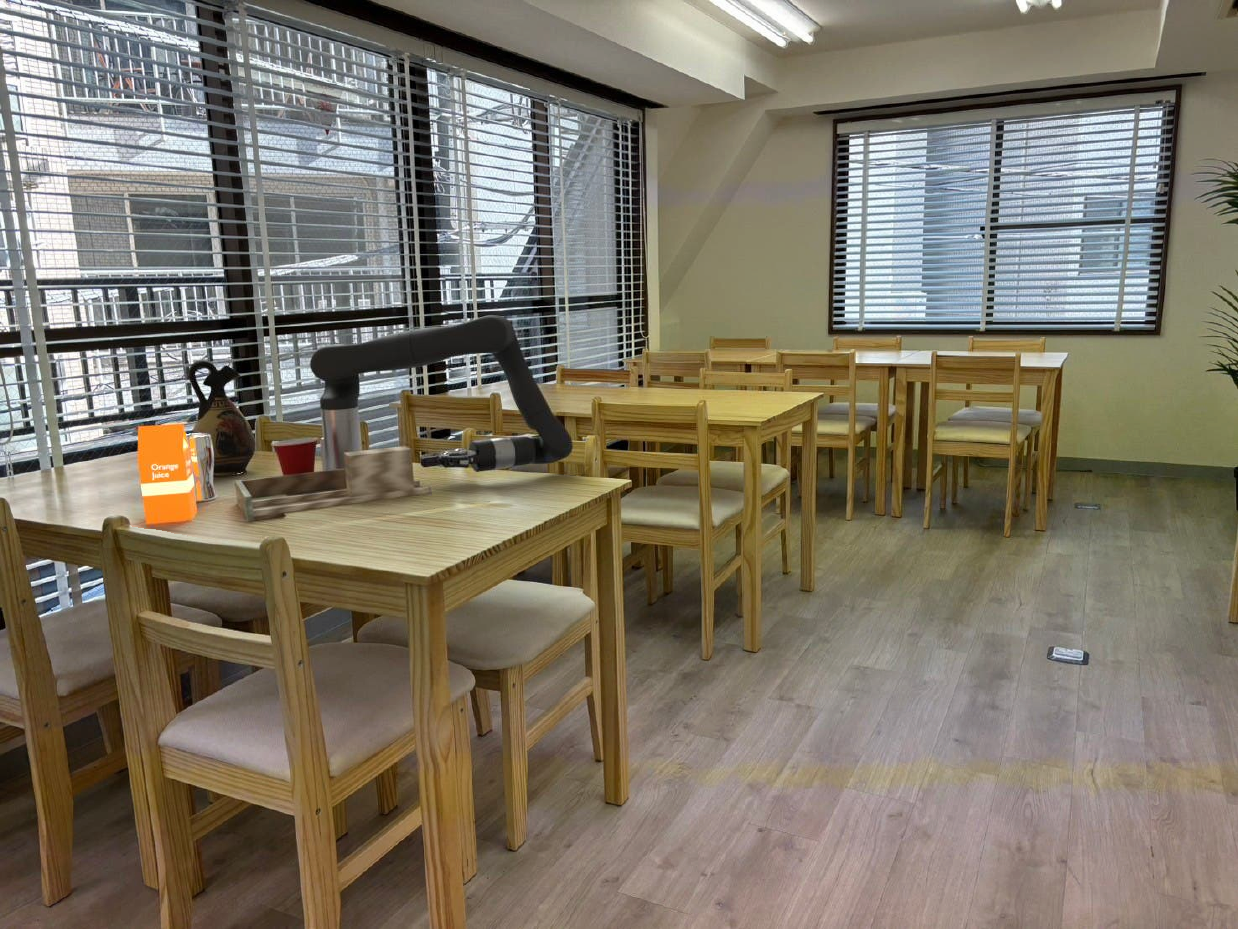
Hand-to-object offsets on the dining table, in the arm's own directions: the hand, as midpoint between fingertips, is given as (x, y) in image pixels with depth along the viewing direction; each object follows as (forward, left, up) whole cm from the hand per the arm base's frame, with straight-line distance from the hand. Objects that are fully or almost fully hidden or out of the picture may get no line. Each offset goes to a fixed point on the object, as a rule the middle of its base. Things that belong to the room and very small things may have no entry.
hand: (421, 462), depth 210 cm
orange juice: (-45, -28, -7) cm, 54 cm away
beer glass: (-50, -11, -7) cm, 52 cm away
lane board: (-17, -9, -7) cm, 21 cm away
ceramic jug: (-64, +17, -7) cm, 66 cm away
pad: (-30, -15, -6) cm, 34 cm away
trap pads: (-17, -4, -6) cm, 19 cm away
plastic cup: (-33, +2, -7) cm, 34 cm away
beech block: (-8, -6, -6) cm, 12 cm away
